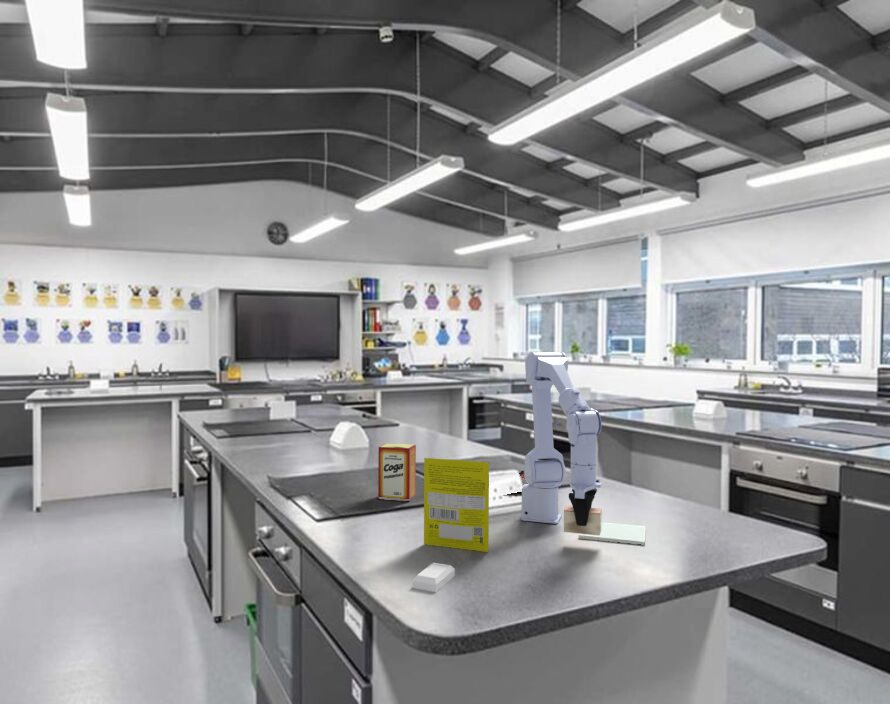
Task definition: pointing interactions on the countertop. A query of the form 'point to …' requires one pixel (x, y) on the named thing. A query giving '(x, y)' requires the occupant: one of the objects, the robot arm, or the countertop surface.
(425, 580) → the soap bar
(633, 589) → the countertop surface
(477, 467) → the food package
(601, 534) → the mat
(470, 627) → the countertop surface
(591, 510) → the maple block
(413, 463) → the baking soda box
